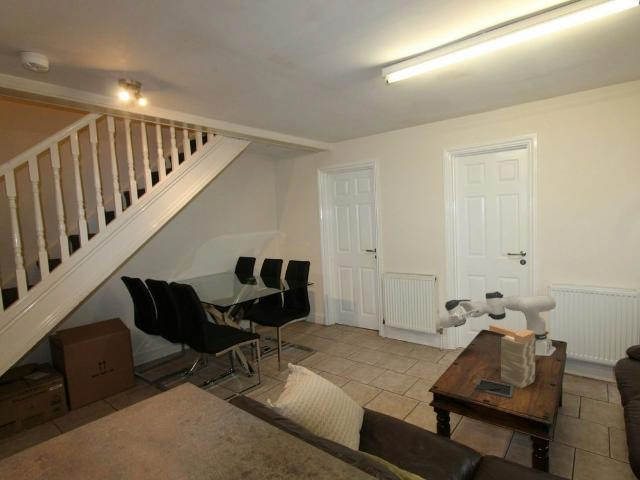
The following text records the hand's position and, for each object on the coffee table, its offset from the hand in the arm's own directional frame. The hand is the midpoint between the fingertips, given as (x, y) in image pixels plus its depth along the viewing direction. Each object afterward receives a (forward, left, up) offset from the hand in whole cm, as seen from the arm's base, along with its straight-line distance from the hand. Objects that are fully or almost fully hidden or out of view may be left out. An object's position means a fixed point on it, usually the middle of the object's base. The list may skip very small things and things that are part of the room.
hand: (474, 312), depth 226 cm
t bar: (+2, +24, -7) cm, 25 cm away
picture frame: (+21, +27, -34) cm, 48 cm away
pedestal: (+2, +30, -33) cm, 44 cm away
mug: (-12, +31, -33) cm, 47 cm away
